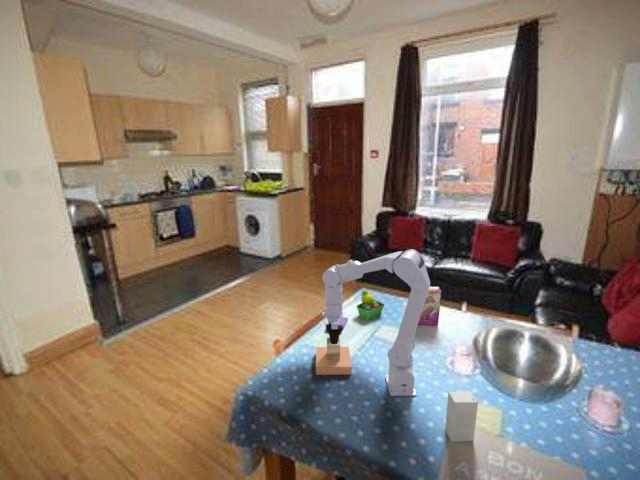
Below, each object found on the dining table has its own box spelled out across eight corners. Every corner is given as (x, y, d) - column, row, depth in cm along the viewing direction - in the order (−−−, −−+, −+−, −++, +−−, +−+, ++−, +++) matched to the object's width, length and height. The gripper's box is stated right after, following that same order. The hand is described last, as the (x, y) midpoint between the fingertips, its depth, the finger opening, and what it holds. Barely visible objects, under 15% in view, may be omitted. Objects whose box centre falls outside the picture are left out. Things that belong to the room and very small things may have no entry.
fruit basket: (366, 322, 147) (367, 298, 144) (353, 314, 154) (354, 291, 151) (384, 314, 153) (385, 292, 150) (371, 307, 160) (372, 286, 157)
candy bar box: (412, 325, 144) (414, 289, 140) (410, 319, 149) (412, 285, 144) (438, 326, 143) (442, 290, 139) (436, 320, 148) (439, 286, 143)
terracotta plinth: (351, 374, 112) (351, 366, 111) (315, 374, 112) (315, 366, 111) (348, 353, 124) (348, 346, 123) (316, 353, 124) (316, 346, 123)
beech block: (340, 360, 115) (340, 344, 113) (326, 360, 115) (326, 344, 113) (339, 352, 119) (339, 337, 118) (326, 352, 119) (326, 337, 118)
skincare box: (466, 428, 90) (471, 390, 87) (473, 441, 86) (479, 402, 83) (444, 429, 90) (448, 391, 87) (450, 442, 85) (455, 403, 82)
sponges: (347, 321, 149) (348, 317, 148) (341, 335, 137) (341, 331, 136) (332, 319, 151) (332, 315, 150) (324, 333, 139) (324, 329, 139)
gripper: (321, 292, 119) (322, 326, 122) (322, 311, 105) (322, 349, 108) (341, 292, 119) (341, 326, 122) (344, 311, 105) (343, 349, 108)
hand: (333, 337), depth 115 cm, fingers open, 7 cm apart
